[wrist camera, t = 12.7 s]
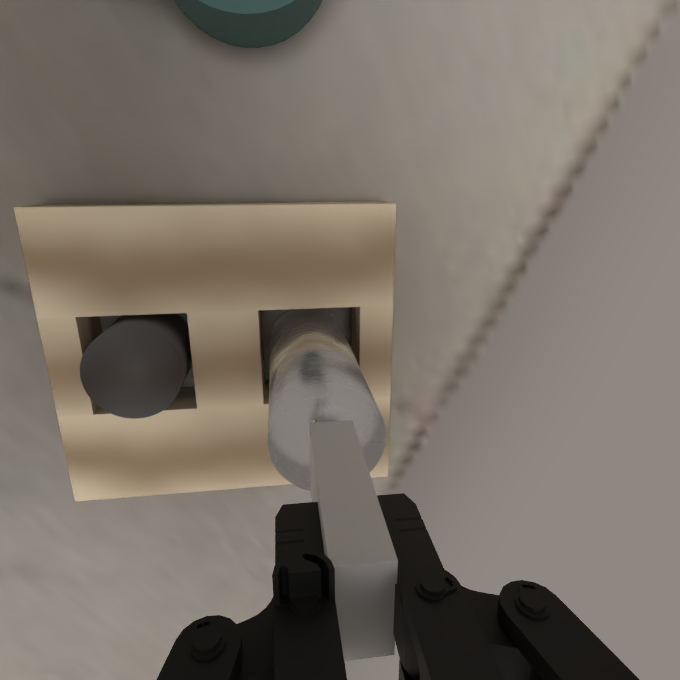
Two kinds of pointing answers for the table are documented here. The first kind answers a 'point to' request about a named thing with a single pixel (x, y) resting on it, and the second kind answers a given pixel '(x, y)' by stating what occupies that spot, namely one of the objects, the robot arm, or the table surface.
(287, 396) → the metal cylinder
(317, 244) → the jig
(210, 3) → the bracket
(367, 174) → the table surface
